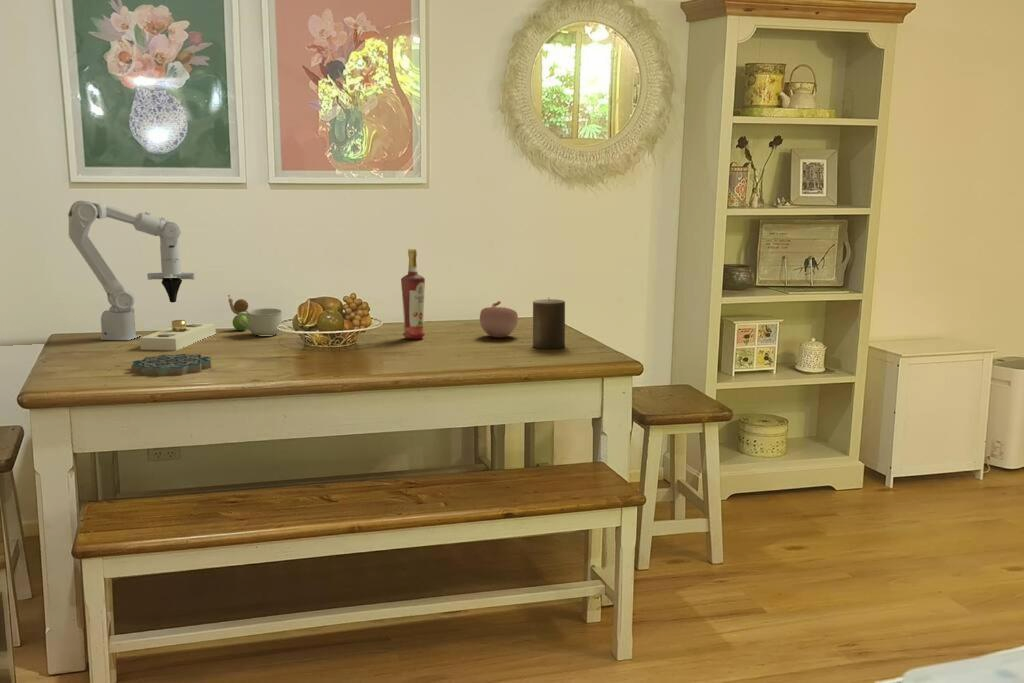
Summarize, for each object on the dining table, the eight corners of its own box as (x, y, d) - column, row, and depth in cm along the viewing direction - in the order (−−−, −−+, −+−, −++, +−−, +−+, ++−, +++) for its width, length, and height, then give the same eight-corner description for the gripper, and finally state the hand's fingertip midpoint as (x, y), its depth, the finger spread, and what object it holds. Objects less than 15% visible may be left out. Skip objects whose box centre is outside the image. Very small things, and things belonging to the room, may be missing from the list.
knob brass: (169, 331, 293) (169, 321, 292) (176, 329, 297) (175, 319, 296) (182, 331, 292) (181, 321, 292) (188, 329, 296) (187, 319, 296)
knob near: (156, 345, 284) (155, 335, 284) (162, 343, 288) (161, 333, 288) (168, 346, 284) (168, 335, 283) (175, 343, 288) (174, 333, 287)
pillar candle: (562, 349, 283) (562, 299, 280) (529, 348, 285) (529, 298, 282) (567, 343, 292) (567, 295, 290) (535, 342, 294) (535, 294, 292)
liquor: (414, 341, 296) (412, 250, 291) (397, 339, 300) (395, 249, 295) (430, 338, 302) (429, 249, 296) (413, 335, 306) (411, 247, 301)
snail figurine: (228, 330, 316) (226, 293, 314) (248, 328, 319) (246, 292, 317) (231, 332, 311) (229, 295, 309) (251, 331, 314) (249, 294, 312)
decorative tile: (226, 369, 257) (225, 360, 257) (156, 381, 243) (155, 371, 242) (187, 359, 271) (186, 350, 270) (118, 370, 256) (118, 361, 256)
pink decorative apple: (519, 334, 309) (519, 299, 307) (515, 341, 297) (516, 304, 295) (482, 333, 310) (482, 298, 308) (477, 340, 298) (477, 303, 296)
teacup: (287, 332, 312) (286, 308, 310) (276, 338, 301) (275, 313, 300) (246, 331, 313) (244, 307, 312) (233, 337, 303) (232, 312, 301)
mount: (140, 349, 283) (139, 337, 282) (183, 333, 309) (182, 323, 308) (176, 350, 281) (175, 338, 281) (215, 334, 308) (215, 323, 307)
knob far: (184, 335, 302) (183, 325, 301) (189, 333, 306) (189, 323, 305) (196, 335, 301) (195, 326, 301) (201, 333, 305) (201, 324, 305)
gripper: (143, 260, 300) (145, 303, 303) (190, 260, 301) (192, 303, 303) (150, 258, 307) (153, 300, 310) (196, 258, 308) (198, 300, 310)
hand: (173, 302), depth 307 cm, fingers closed
